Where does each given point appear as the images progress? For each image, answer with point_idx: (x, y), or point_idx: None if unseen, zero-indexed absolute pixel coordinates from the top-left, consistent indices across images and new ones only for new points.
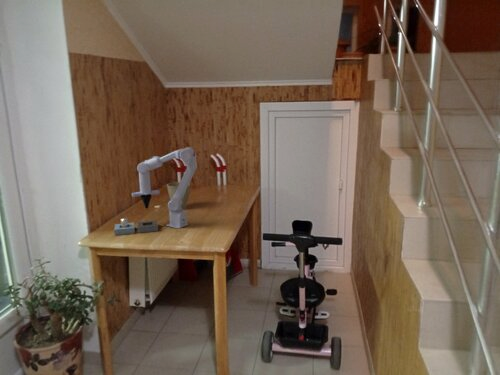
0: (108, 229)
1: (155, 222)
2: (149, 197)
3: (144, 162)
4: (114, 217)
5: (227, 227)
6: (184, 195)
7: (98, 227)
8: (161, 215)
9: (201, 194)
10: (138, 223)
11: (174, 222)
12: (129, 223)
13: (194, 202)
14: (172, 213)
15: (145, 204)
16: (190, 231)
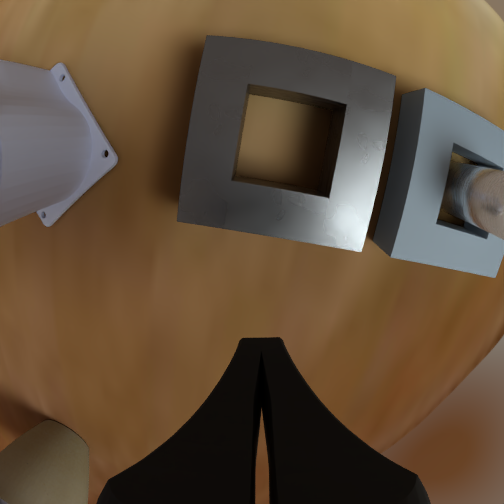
0: (491, 284)
1: (201, 150)
2: (165, 500)
3: None
4: (378, 451)
5: None
6: (5, 455)
7: (499, 337)
8: (139, 408)
9: None
10: (369, 203)
11: (52, 99)
12: (429, 246)
13: None
14: (3, 102)
15: (296, 377)
16: (38, 4)
